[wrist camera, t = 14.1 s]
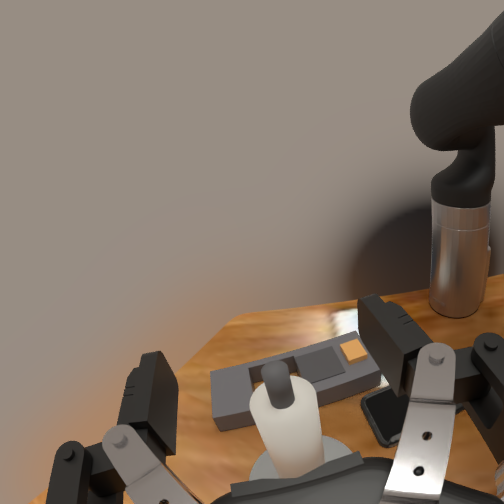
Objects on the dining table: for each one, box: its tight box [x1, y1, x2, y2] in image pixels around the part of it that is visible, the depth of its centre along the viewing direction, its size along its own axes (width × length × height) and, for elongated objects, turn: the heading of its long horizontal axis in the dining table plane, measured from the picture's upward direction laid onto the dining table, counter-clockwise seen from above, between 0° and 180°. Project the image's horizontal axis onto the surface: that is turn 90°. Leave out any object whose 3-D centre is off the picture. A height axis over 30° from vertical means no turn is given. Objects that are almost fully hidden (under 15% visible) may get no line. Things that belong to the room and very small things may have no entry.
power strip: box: [210, 331, 381, 432], centre depth 35 cm, size 20×8×4 cm, turn 98°
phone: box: [361, 385, 465, 448], centre depth 28 cm, size 8×1×15 cm
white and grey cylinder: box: [249, 360, 325, 478], centre depth 21 cm, size 4×4×17 cm
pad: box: [249, 435, 352, 481], centre depth 24 cm, size 11×11×1 cm
